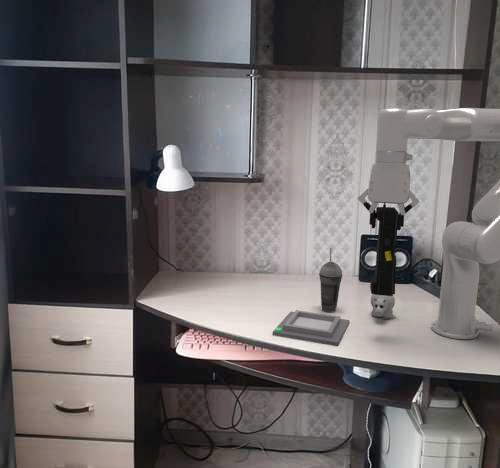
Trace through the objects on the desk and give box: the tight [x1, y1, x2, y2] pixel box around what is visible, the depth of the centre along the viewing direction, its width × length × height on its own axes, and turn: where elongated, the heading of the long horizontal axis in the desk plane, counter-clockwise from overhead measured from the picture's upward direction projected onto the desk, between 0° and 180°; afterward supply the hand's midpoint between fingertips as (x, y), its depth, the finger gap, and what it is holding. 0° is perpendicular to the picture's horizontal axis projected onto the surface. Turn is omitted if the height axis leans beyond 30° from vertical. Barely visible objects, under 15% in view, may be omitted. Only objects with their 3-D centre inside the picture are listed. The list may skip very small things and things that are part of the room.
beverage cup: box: [318, 247, 343, 313], centre depth 155 cm, size 7×7×20 cm
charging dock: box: [272, 309, 350, 347], centre depth 140 cm, size 18×18×2 cm
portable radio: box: [369, 203, 400, 296], centre depth 130 cm, size 8×6×25 cm
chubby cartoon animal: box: [370, 294, 396, 320], centre depth 150 cm, size 7×12×8 cm, turn 154°
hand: (386, 227), depth 129 cm, fingers closed on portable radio, 5 cm apart
